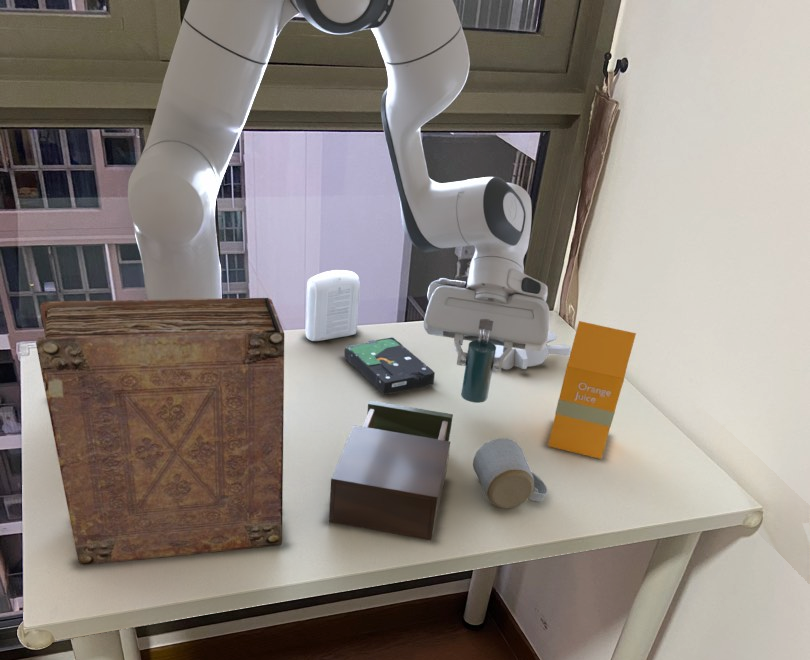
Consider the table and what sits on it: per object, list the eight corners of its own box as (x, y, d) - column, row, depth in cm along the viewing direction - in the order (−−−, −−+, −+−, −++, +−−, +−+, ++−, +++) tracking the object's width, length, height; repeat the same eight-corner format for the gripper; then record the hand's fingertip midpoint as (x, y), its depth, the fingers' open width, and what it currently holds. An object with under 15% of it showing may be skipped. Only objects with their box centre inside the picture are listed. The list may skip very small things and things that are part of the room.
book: (76, 566, 103) (32, 339, 84) (77, 520, 110) (37, 301, 91) (283, 545, 110) (284, 331, 91) (272, 503, 117) (271, 296, 98)
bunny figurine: (480, 334, 157) (551, 319, 161) (479, 358, 160) (549, 343, 164) (503, 357, 150) (577, 341, 154) (501, 382, 154) (573, 366, 158)
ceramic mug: (483, 513, 120) (493, 468, 115) (468, 480, 126) (477, 436, 121) (552, 511, 122) (565, 467, 117) (534, 478, 128) (545, 435, 123)
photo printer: (348, 326, 163) (352, 263, 156) (360, 335, 161) (364, 272, 153) (301, 334, 158) (303, 270, 151) (312, 344, 156) (314, 279, 148)
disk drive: (434, 386, 148) (391, 349, 157) (436, 372, 146) (392, 335, 155) (384, 397, 143) (342, 358, 152) (385, 382, 141) (343, 344, 151)
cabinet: (350, 466, 126) (353, 424, 121) (444, 482, 125) (450, 441, 120) (328, 522, 115) (331, 478, 110) (431, 540, 114) (437, 497, 109)
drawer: (372, 418, 136) (374, 387, 132) (451, 431, 135) (456, 401, 131) (349, 477, 122) (351, 444, 118) (437, 492, 121) (442, 460, 118)
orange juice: (555, 423, 142) (582, 311, 129) (607, 436, 140) (639, 323, 128) (547, 446, 136) (574, 331, 123) (601, 459, 134) (634, 344, 122)
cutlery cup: (459, 400, 138) (471, 323, 129) (462, 387, 141) (474, 312, 133) (486, 404, 137) (499, 328, 129) (488, 391, 141) (501, 316, 132)
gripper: (430, 268, 134) (414, 350, 133) (557, 287, 133) (543, 371, 131) (431, 284, 141) (416, 363, 139) (552, 303, 139) (539, 383, 138)
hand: (479, 367), depth 135 cm, fingers closed on cutlery cup, 4 cm apart
